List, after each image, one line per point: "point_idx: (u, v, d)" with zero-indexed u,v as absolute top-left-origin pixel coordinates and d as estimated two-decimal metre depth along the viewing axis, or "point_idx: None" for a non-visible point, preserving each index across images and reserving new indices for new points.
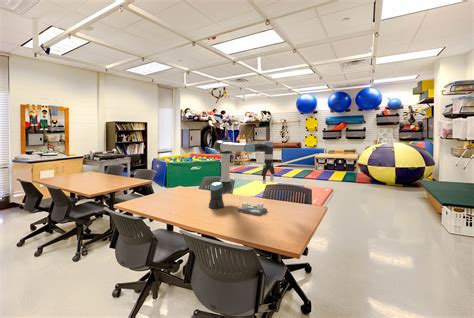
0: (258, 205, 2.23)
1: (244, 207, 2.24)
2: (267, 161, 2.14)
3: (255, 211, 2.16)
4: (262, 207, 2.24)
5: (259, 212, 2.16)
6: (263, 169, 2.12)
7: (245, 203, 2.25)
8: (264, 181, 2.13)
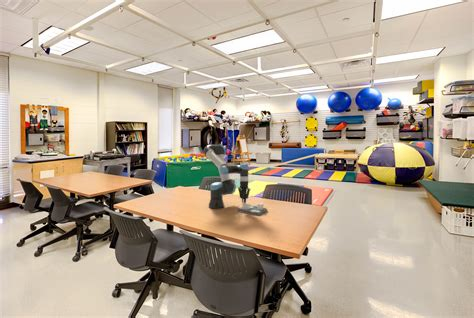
0: (258, 205, 2.23)
1: (245, 207, 2.23)
2: None
3: (255, 211, 2.16)
4: (262, 207, 2.24)
5: (259, 212, 2.16)
6: None
7: (246, 203, 2.24)
8: None
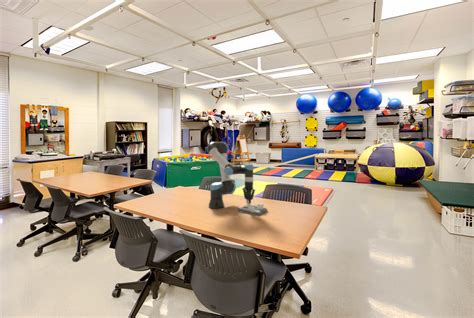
0: (258, 205, 2.23)
1: (250, 208, 2.20)
2: None
3: (255, 211, 2.16)
4: (262, 207, 2.24)
5: (259, 212, 2.16)
6: None
7: (251, 204, 2.21)
8: None
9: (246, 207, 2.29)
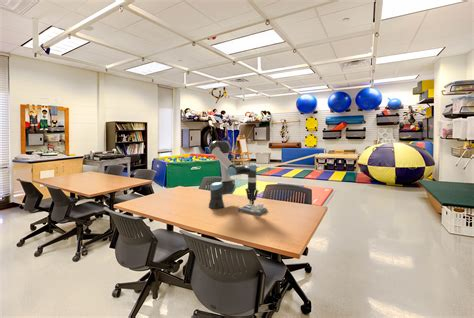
0: (258, 205, 2.23)
1: (253, 209, 2.18)
2: None
3: (255, 211, 2.16)
4: (262, 207, 2.24)
5: (259, 212, 2.16)
6: None
7: (254, 205, 2.19)
8: None
9: (246, 207, 2.29)
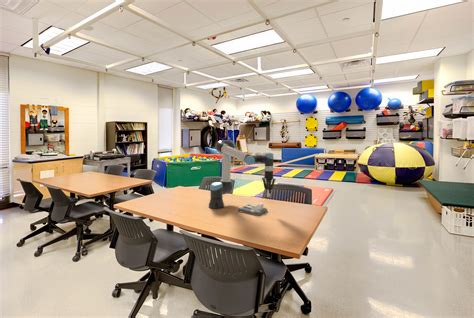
0: (258, 205, 2.23)
1: (254, 209, 2.18)
2: None
3: (255, 211, 2.16)
4: (262, 207, 2.24)
5: (259, 212, 2.16)
6: None
7: (254, 205, 2.19)
8: None
9: (246, 207, 2.29)
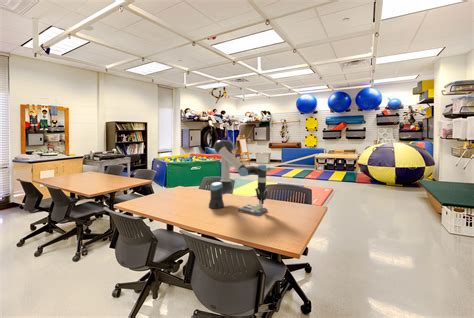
0: None
1: (254, 209, 2.18)
2: None
3: (255, 211, 2.16)
4: None
5: (259, 212, 2.16)
6: None
7: (254, 205, 2.19)
8: None
9: (246, 207, 2.29)
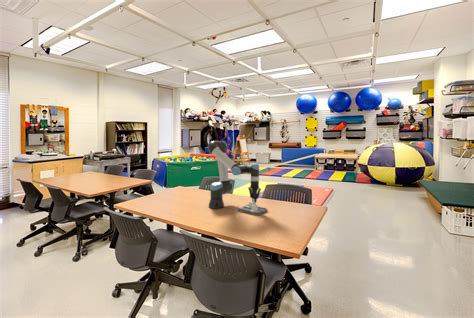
0: (250, 203, 2.29)
1: (254, 209, 2.18)
2: None
3: (255, 211, 2.16)
4: None
5: (259, 212, 2.16)
6: None
7: (254, 205, 2.19)
8: None
9: (246, 207, 2.29)
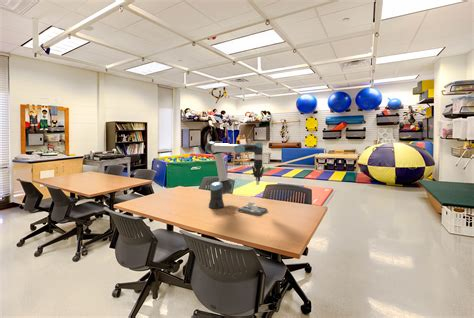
0: (249, 203, 2.29)
1: (254, 209, 2.18)
2: None
3: (255, 211, 2.16)
4: None
5: (259, 212, 2.16)
6: None
7: (254, 205, 2.19)
8: None
9: (246, 207, 2.29)
